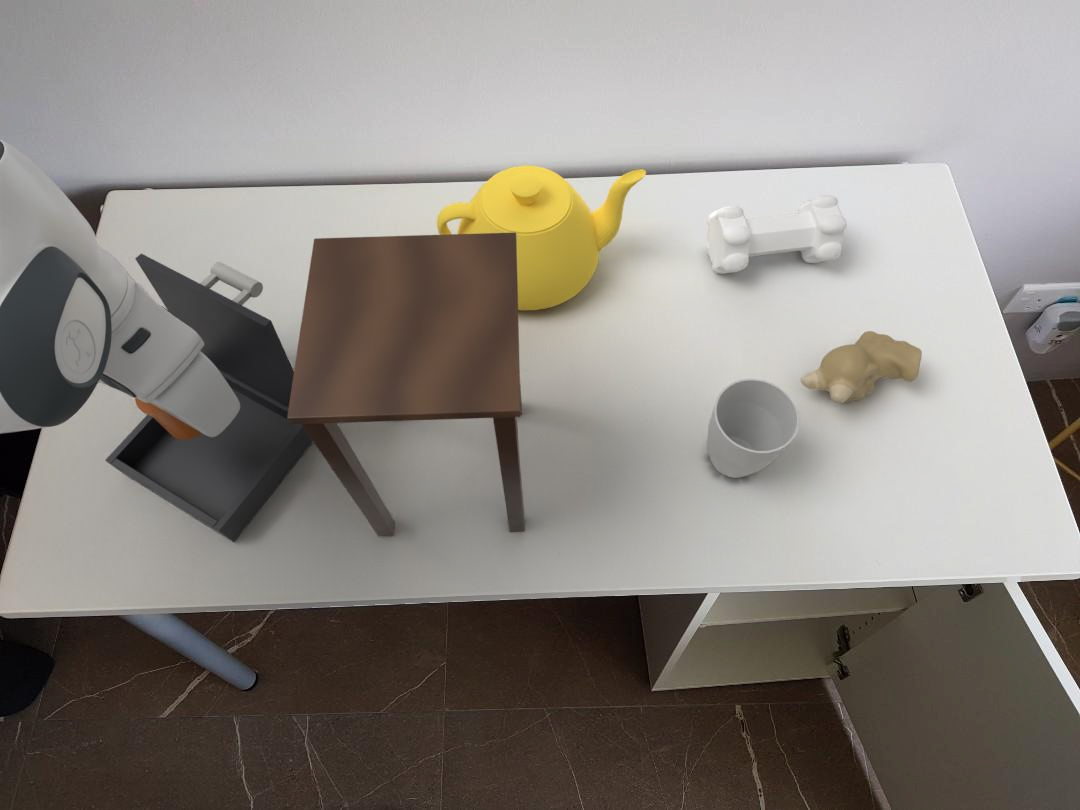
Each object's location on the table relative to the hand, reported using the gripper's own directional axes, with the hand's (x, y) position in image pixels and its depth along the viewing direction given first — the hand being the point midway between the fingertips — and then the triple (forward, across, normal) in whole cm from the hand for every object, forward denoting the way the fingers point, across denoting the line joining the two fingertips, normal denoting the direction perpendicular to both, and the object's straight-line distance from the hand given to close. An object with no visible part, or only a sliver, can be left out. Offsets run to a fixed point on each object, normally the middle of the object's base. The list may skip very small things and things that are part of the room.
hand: (171, 403), depth 67 cm
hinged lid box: (+12, 0, 0) cm, 12 cm away
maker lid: (0, 0, +8) cm, 8 cm away
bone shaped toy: (+12, +42, +55) cm, 71 cm away
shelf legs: (+12, +23, +11) cm, 28 cm away
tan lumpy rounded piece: (+12, +57, +42) cm, 72 cm away
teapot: (+12, +17, +40) cm, 45 cm away
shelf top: (-15, +23, +11) cm, 30 cm away
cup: (+12, +49, +27) cm, 57 cm away
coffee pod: (+4, 0, 0) cm, 4 cm away
